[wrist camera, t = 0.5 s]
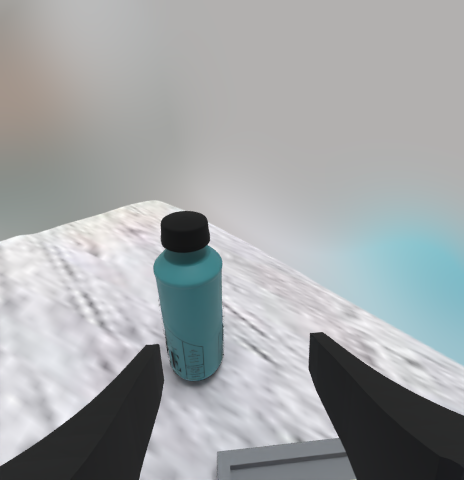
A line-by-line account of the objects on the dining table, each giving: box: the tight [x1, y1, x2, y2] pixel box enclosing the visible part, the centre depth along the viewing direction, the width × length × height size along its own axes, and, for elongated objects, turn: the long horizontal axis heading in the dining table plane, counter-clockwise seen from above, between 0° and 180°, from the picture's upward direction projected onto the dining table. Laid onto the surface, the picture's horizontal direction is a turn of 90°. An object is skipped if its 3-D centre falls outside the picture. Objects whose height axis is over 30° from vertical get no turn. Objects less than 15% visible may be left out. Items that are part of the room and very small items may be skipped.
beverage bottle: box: [153, 211, 224, 381], centre depth 26 cm, size 6×7×20 cm
